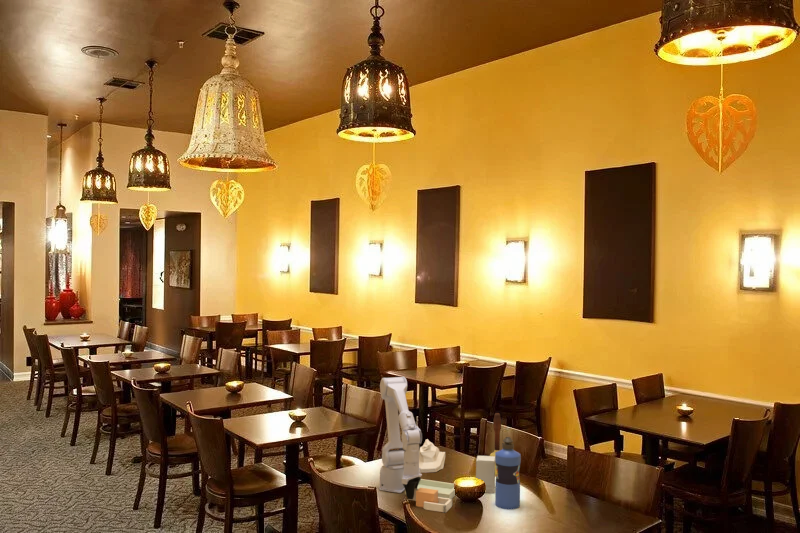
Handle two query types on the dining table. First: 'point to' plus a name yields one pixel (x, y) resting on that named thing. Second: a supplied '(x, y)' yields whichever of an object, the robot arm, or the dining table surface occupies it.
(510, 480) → the water bottle
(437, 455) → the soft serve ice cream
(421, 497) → the orange and grey block
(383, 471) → the robot arm
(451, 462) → the dining table surface
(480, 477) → the supplement box
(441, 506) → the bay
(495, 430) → the handbell
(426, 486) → the tray
